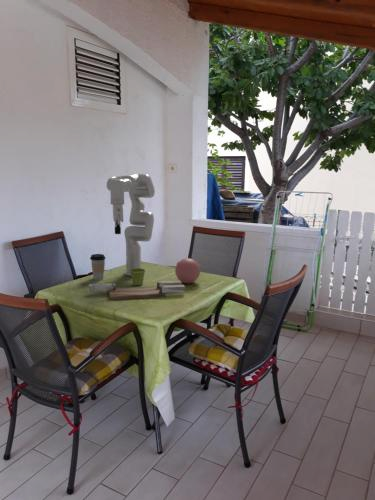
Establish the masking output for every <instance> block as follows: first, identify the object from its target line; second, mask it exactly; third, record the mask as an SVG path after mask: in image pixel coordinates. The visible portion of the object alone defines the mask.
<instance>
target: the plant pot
mask: <svg viewBox="0 0 375 500" xmlns="http://www.w3.org/2000/svg"><path fill="white" fill-rule="evenodd" d="M130 272H131V275H132V276H131V279H132V280H131V281H132V285H133V286H142V285H143V283H144V278H145V277H144V276H145V272H146V269H145V268H143V267H141V268H134V269H131V270H130Z"/></svg>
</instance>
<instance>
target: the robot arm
mask: <svg viewBox="0 0 375 500" xmlns="http://www.w3.org/2000/svg"><path fill="white" fill-rule="evenodd" d="M106 189H107V190H108V191H109V192H110V205H112V219H113V222H114V235H122V234H121V233H122V227H121V223H124V208H123V206H124V205H125V192H127V193H128V194H129V199H130V201H131V209H130V214H129V224H130V226H126V227H125V229H124V239H125V258H126V259H125V263H126V265H125V270H124V271H123V274H124V275H125V276H129V277H130V276H131V277H132V275H131V272H130V270H131V269H134V268H142V267H141V266H142V265H141V264H142V262H141V261H142V259H141V258H142V249H141V247H142V246H141V245H140V243H139V242H144V243H145V242H150V241H151V239H152V235H153V229H154V222H155V217H154V214H153V212H151V211H145V207H146V206H145V204H144V202H143V200H141V199H143V198H145V199H151V198H153V197H154V196H155V194H156V193H155V191H156V190H155V186H154V183H153V181H152V178H151V176H150V175H149V174H147V173H131V174H128V175H121V176H112V177H109V178H108V179H107V181H106Z"/></svg>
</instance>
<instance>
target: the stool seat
mask: <svg viewBox="0 0 375 500" xmlns="http://www.w3.org/2000/svg"><path fill="white" fill-rule="evenodd" d="M185 292H186V286H185V285H184V284H183V282H181V281H180V280H170V281H169V280H168V281H167V280H166V281H158V282H156V285H152V286H149V285H148V286H132V287H131V286H129V287H116V290H108V295H109V300H110V301H119V300H120V301H121V300H130V299H131V300H134V299H136V300H137V299H150V298H151V299H152V298H153V299H155V298H165V297H166V293H185Z"/></svg>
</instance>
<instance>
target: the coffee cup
mask: <svg viewBox="0 0 375 500" xmlns="http://www.w3.org/2000/svg"><path fill="white" fill-rule="evenodd" d="M89 258H90V259H89V260H90V262H91V263H90V264H91V270H92V275H93V276H92V278H93V279H94V280H95V281H100V280H103V279H104V274H105V273H104V272H105V263H106V262H105V259H107V258H106V256H105V254H103V253H94V254H91V256H90V257H89Z"/></svg>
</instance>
